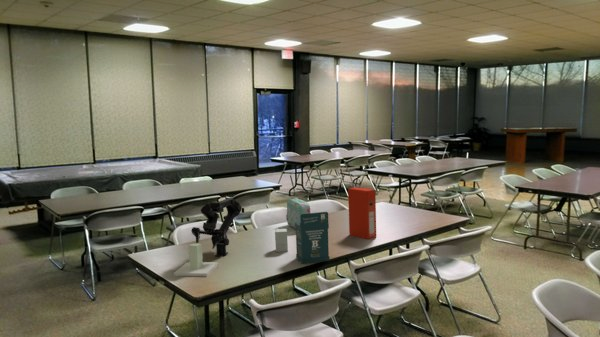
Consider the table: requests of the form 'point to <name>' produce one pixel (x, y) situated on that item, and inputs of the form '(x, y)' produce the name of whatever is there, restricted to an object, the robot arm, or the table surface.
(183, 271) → the grey board
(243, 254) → the table surface
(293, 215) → the lunch box
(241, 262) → the table surface
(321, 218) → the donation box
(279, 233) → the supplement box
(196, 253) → the sage block
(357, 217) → the file binder
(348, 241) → the table surface
